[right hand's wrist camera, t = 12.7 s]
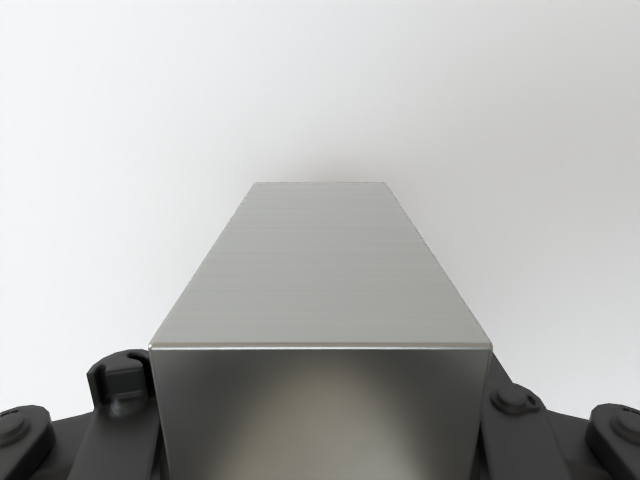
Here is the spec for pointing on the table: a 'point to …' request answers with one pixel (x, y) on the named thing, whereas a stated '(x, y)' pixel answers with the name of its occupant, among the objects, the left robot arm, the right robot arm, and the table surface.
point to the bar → (320, 347)
